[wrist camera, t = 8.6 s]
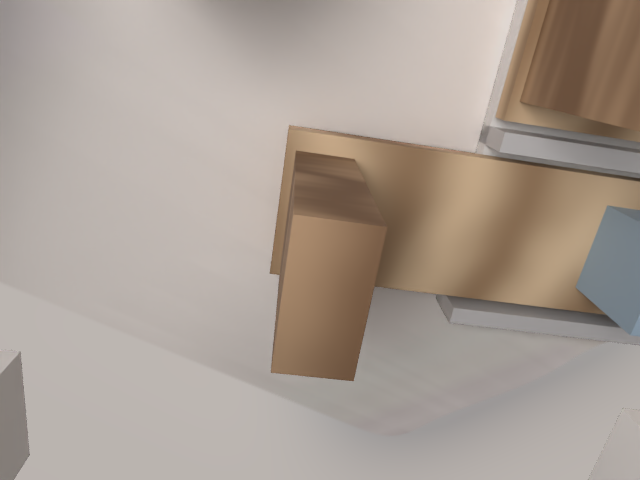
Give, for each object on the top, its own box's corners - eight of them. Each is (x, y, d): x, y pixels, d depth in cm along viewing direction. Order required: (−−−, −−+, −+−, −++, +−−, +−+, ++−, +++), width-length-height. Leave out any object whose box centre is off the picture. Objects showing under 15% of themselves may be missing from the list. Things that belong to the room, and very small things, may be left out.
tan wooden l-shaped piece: (270, 264, 28) (254, 393, 18) (289, 125, 25) (281, 181, 15) (654, 312, 30) (841, 451, 20) (712, 189, 27) (965, 277, 17)
